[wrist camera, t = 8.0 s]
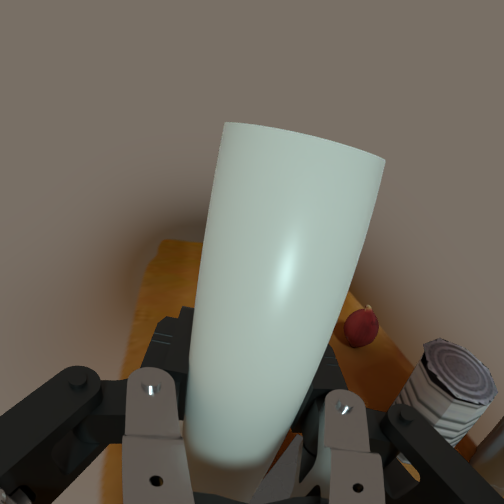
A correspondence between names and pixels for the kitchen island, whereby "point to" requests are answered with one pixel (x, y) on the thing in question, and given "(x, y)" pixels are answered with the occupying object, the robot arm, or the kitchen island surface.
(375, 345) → the kitchen island surface
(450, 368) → the can
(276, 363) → the long pin
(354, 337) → the onion
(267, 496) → the hole plate
